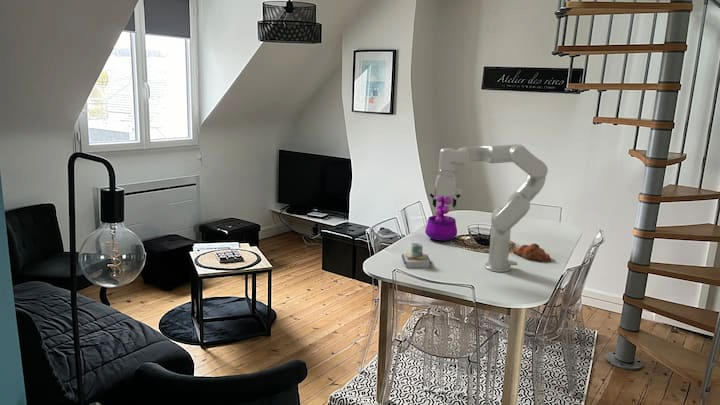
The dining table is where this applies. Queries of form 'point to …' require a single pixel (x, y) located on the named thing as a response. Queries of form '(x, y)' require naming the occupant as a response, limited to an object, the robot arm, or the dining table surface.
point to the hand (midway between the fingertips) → (444, 206)
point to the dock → (416, 262)
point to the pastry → (532, 253)
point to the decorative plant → (441, 222)
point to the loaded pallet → (416, 252)
